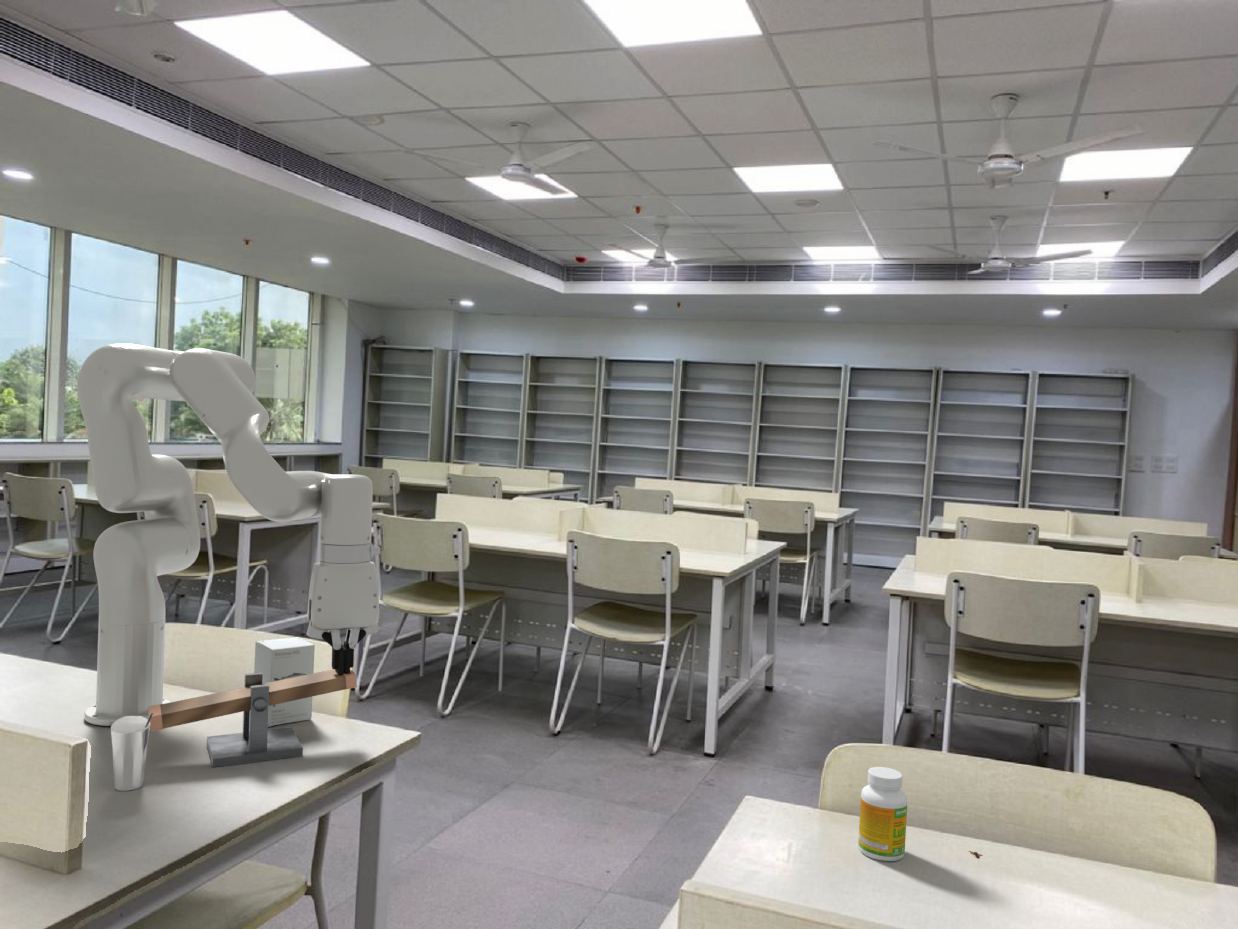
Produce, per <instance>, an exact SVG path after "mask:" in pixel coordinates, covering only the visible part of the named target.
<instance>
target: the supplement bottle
mask: <svg viewBox="0 0 1238 929" xmlns="http://www.w3.org/2000/svg"><path fill="white" fill-rule="evenodd" d="M867 783H868V784H866V786H864V787H863V788H862V789H861V794H860V807H859V823H858V824H859V826H858V828H859V829H858V844H857V845H858V849H859V851H860V852H861V853H862V854H864V856H865V857H866V856H867V857H869V858H870V859H873V860H877V861H882V862H896V861H897V862H898V861H899V860H902V859H903V858H904V856H905V852H906V851H905V850H906V835H907V819H908V818H907V816H908V797H907V794H906V793H905V792H904V791H903V790H902V788H903V773H901V772H900V771H898V770H897V769H894V768H889V767H885V766H884V767H883V766H873V767H870V768H869V769H868V771H867Z"/></svg>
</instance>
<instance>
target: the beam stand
mask: <svg viewBox="0 0 1238 929" xmlns="http://www.w3.org/2000/svg"><path fill="white" fill-rule="evenodd" d="M262 678H263V674H262V672H261V673H254V672H253V673H252V672H251V673H244V683H243V684H244V686H243V688H244V687H249V686H251V689H250V710H248V711H243V712H242V715H243V716H242V732H238V733H236V732H235V733H228V734H220V735H219V734H218V735H212V736H211V735H210V736H207V737H206V748H207V751H208V754H209V759H210V761H211V766H212V768H219V767H226V766H227V767H228V766H235V765H244V764H251V763H260V762H267V761H274V760H281V759H291V758H298V757H303V755H304V747H303V745H302V744H301V742H300V740H299V738H298V736H297V735H296V733H295V731H294V729H293V727H283V728H274V729H273V728H272V729H269V727H268V709H269V685H268V684H267V685H259V684H262ZM253 685H255V686H253Z"/></svg>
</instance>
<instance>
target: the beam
mask: <svg viewBox="0 0 1238 929" xmlns="http://www.w3.org/2000/svg"><path fill="white" fill-rule="evenodd" d="M267 684H268V685H269V706H271V705H275V704H280V703H285V702H289V701H294V700H299V699H303V698H308V697H312V698H313V697H317V696H322V695H326V694H329V693H334V692H339V691H345V690H349V689H354V688H357V687H358V686H357V676H356V673H355V672H354V671H353V669H352V668H350V674H343V675H340V676H339V675H338V674H337V673H336V671H335V669H332V668H331V669H329V670H324V671H319V672H313V674H308V675H303V676H298V677H293V678H288V679H283V680H278V681H274V682H269V683H264V684H259V685H267ZM253 686H255V685H253ZM250 689H251V686H249V687H244V686H243V687H241V688H234V689H231V690H225V691H220V692H216V693H209V694H207V695H206V694H205V695H201V696H196V697H191V698H185V699H180V700H177V701H176V700H175V701H171V702H170V703H166V704H161V705H155V706H150V707H148V710H149V716H150V714H151V713H153V715H152V717H151V719H150V732H155V731H159V730H163V729H168V728H172V727H178V726H182V725H187V724H191V723H196V722H201V721H205V720H209V719H215V718H218V717H224V716H228V715H232V714H236V713H237V714H238V713H243V711H248V710H250Z"/></svg>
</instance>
